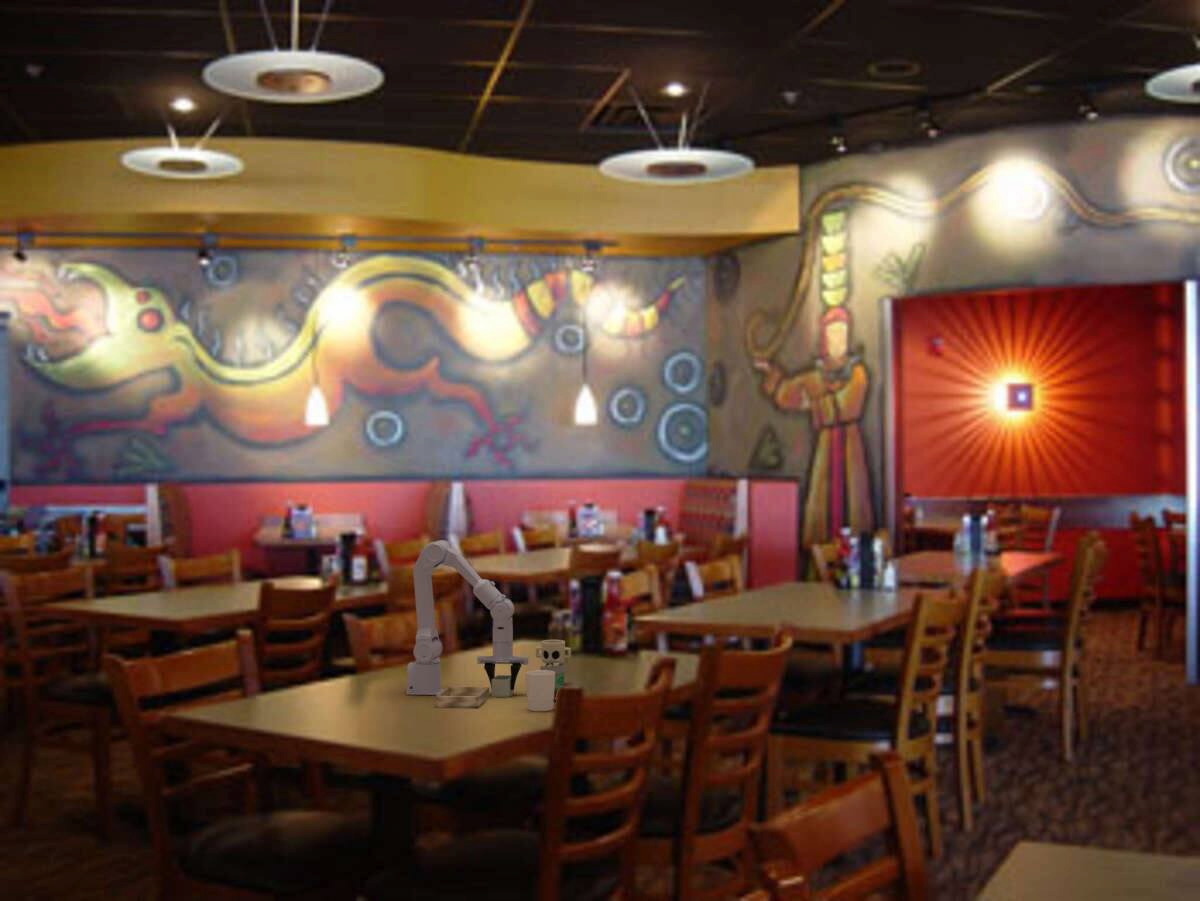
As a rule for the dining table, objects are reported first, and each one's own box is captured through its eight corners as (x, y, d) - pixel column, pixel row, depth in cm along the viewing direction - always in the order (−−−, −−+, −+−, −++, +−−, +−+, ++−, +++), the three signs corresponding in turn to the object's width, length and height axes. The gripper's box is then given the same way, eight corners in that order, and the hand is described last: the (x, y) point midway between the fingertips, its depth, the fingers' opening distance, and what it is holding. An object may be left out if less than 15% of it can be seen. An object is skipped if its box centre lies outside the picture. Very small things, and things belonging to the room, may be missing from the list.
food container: (561, 703, 387) (561, 667, 387) (539, 702, 388) (539, 666, 388) (571, 695, 399) (571, 660, 399) (550, 695, 400) (550, 660, 400)
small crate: (491, 697, 396) (491, 679, 396) (496, 692, 404) (496, 675, 404) (509, 697, 396) (509, 679, 396) (513, 692, 404) (513, 675, 404)
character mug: (532, 685, 415) (532, 642, 415) (539, 682, 422) (539, 639, 422) (567, 687, 413) (567, 643, 413) (574, 683, 420) (573, 640, 420)
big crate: (435, 707, 380) (435, 696, 380) (447, 697, 396) (447, 686, 396) (478, 708, 379) (478, 697, 379) (489, 697, 395) (489, 687, 395)
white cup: (535, 713, 372) (535, 675, 372) (520, 708, 379) (520, 671, 379) (560, 710, 376) (560, 673, 376) (546, 705, 383) (546, 669, 383)
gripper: (475, 643, 397) (475, 691, 397) (525, 644, 395) (525, 692, 395) (479, 640, 404) (479, 687, 404) (529, 640, 402) (529, 687, 402)
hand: (502, 689), depth 400 cm, fingers closed on small crate, 5 cm apart
